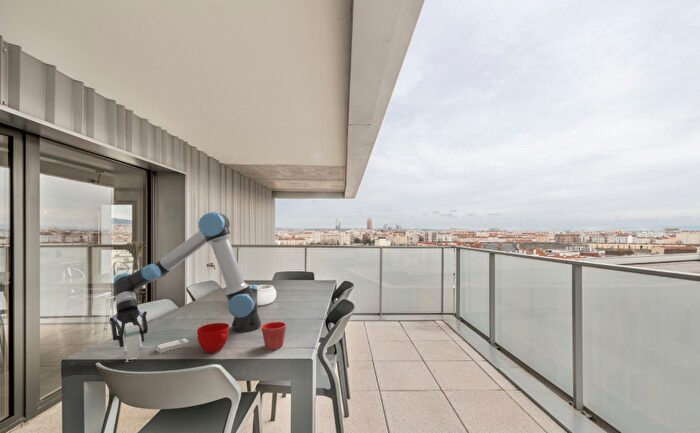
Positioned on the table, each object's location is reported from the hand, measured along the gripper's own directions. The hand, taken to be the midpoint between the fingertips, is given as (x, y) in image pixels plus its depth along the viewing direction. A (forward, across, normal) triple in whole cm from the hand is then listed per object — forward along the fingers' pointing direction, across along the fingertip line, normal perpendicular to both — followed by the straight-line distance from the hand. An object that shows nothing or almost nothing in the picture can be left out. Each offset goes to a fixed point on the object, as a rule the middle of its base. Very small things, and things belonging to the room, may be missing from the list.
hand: (133, 350), depth 123 cm
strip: (0, -15, -6) cm, 16 cm away
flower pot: (+24, -48, +17) cm, 56 cm away
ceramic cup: (+14, -28, +7) cm, 31 cm away
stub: (0, 0, -6) cm, 6 cm away
